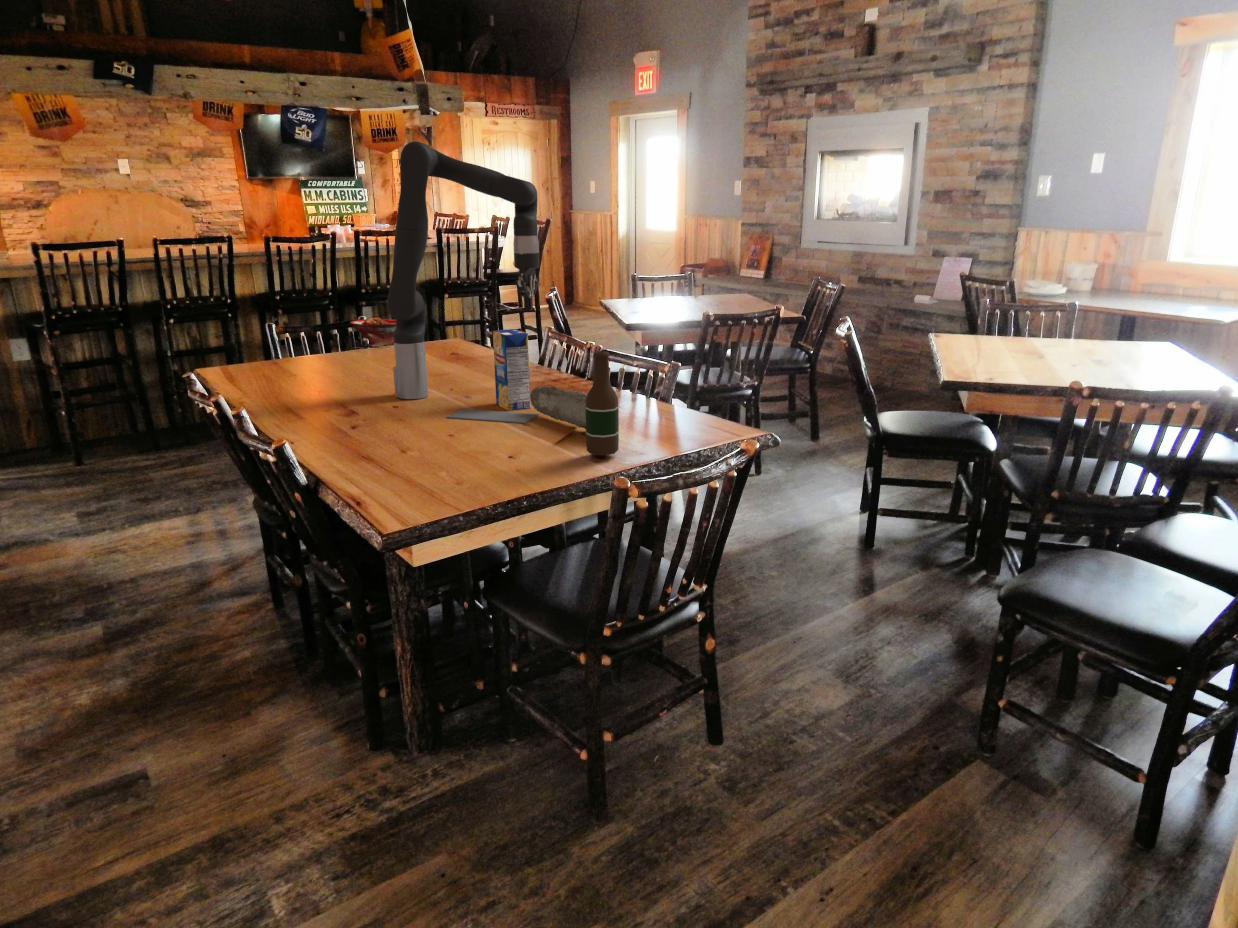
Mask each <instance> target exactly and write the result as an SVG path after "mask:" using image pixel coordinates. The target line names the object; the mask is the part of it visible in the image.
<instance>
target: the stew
mask: <svg viewBox="0 0 1238 928" xmlns="http://www.w3.org/2000/svg"><path fill="white" fill-rule="evenodd" d="M349 324H350V325H351V326H352V327H353V328H354V329H355V330H356V331H358V332H360V334H361V335H362V336H363V337H364V338H365V339H366V340H368V343H366V344H359V345H357V339H355V340H354V341H355V343H354V345H355V346H353V348H356V349H370V348H375V349H385V348H390V347H391V346H390V345H391V344H394V340H393V334H394V332H395V329H396V319H394V318H380V317H371V318H370V317H368V318H367V317H366V318H365V319H358V320H352V321H349ZM386 345H387V346H386ZM381 346H384V347H381Z"/></svg>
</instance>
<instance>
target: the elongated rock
mask: <svg viewBox="0 0 1238 928" xmlns="http://www.w3.org/2000/svg"><path fill="white" fill-rule="evenodd" d="M587 395H588V393H586V392H584V391H581V390H580V391H579V390H578V391H576V390H574V391H573V390H570V389H565V388H563V389H562V388H558V387H557V386H555V385H554V386H546V385H543V386H537V387H536V386H535V388H533V389H531V390H530V405H531V406H532V407H533V408H534V410H536V411H537V412H539V413H541V414H543V415H544V416H545V415H546V416H549V417H550V418H552V419H554V420H556V421H558V420H559V421H561V422H566V423H568V424H571V425H574V426H576V427H578V428H579V429H580V428H582V429H585V430H586V398H587Z"/></svg>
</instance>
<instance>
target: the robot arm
mask: <svg viewBox="0 0 1238 928" xmlns="http://www.w3.org/2000/svg"><path fill="white" fill-rule="evenodd" d="M399 160H400V162H399V163H400V188H399V189H400V190H399V191H400V193H399V199H398V206H397V207H398V208H397V214H396V215H397V216H396V221H395V224H396V225H395V232H394V245H393V246H394V249H393V262H392V263H393V264H392V275H391V280H390V286H389V291H388V295H387V300H386V301H387V302H386V305H387V306H386V307H387V310H388V313H389V315H390V316H391V318H392V319H393V320H396V329H395V332H394V334H393V340H394V342H393V350H394V359H395V362H394V364H395V365H394V366H393V369H392V371H393V372H392V373H393V383H394V392H395V393H394V395H395V396H394V397H395V398H398V399H402V400H418V399H425V398H427V397H429V387H428V372H427V371H428V370H427V360H426V357H427V356H426V345H425V334H426V328H427V327H426V308H425V306H426V305H425V301H424V298H423V296H422V294H421V293H420V292H419V291H417V289H416V287H417V277H418V273H419V269H420V267H421V264H422V261H423V259H424V256H425V253H426V248H427V244H428V235H429V234H428V233H429V217H428V208H427V207H428V206H427V199H426V197H427V187H428V186H427V185H428V179H429V177H431V178H438V179H444V180H447V181H451V182H453V183H457V184H459V185H461V186H464V187H465V188H468V189H471V190H474V191H476V192H479V193H481V194H485V195H488V196H491V197H495V198H498V199H499V198H500V199H502V200H505V201H507V202H509V203H512V204H514V218H513V244H512V245H513V264H514V265H513V267H514V269H515V268H516V269H518V270H519V271H518V272H519V273H518V279H516V280H515V286H516V289H517V290H518V291H517V292H518V293H519V294H518V295H520V297H522V298H523V309H524V311H525V312H530V311H533V310H534V309H533V308H534V306H533V305H534V303H533V302H534V301H533V298H534V296H535V295H536V294H537V290H538V287H539V282H540V277H537V276H536V269H538V268H540V243H539V238H538V237H539V236H538V235H539V234H538V233H539V232H538V218H537V217H538V216H537V215H538V190H537V188H536V186H535V185H534V183H532V182H529V181H527V180H525V179H521V178H516V177H513V176H510V175H505V174H504V173H501V172H500V171H497V170H495V169H494V170H493V169H490V168H488V167H485V166H481V165H479V164H474V163H470V162H466V161H462V160H459V159H456V158H453V157H451V156H448V155H447V154H444V153H442V152H440V151H438V150H436V149H434V148H433V147H431V146H430V145H429V144H427V143H424V142H420V141H414V140H413V141H410V142H408V143H407V144H405V145H404V147H402V149H401V152H400V158H399Z"/></svg>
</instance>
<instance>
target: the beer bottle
mask: <svg viewBox="0 0 1238 928" xmlns="http://www.w3.org/2000/svg"><path fill="white" fill-rule="evenodd" d="M592 356H593V358H594V362H593V363H594V364H593V366H594V367H593V381H592V386H591V388H590V389H589V390H588V392H587V398H586V429H585V435H586V436H585V440H586V441H585V442H586V443H585V446H586V451H587V452H588V453H589V454H591V455H593V456H594V455H596V456H609V455H614V454H616V453H617V452H618V451H619V444H620V443H619V441H620V440H619V439H620V437H619V435H620V434H619V432H620V431H619V428H620V426H619V424H620V423H619V419H620V418H619V398H618V395H617V393H616V391H615V390H614V388H613V386H612V384H611V378H610V363H609V358H610V352H609V351H607V350H597V351H594V352H593V355H592Z"/></svg>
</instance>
